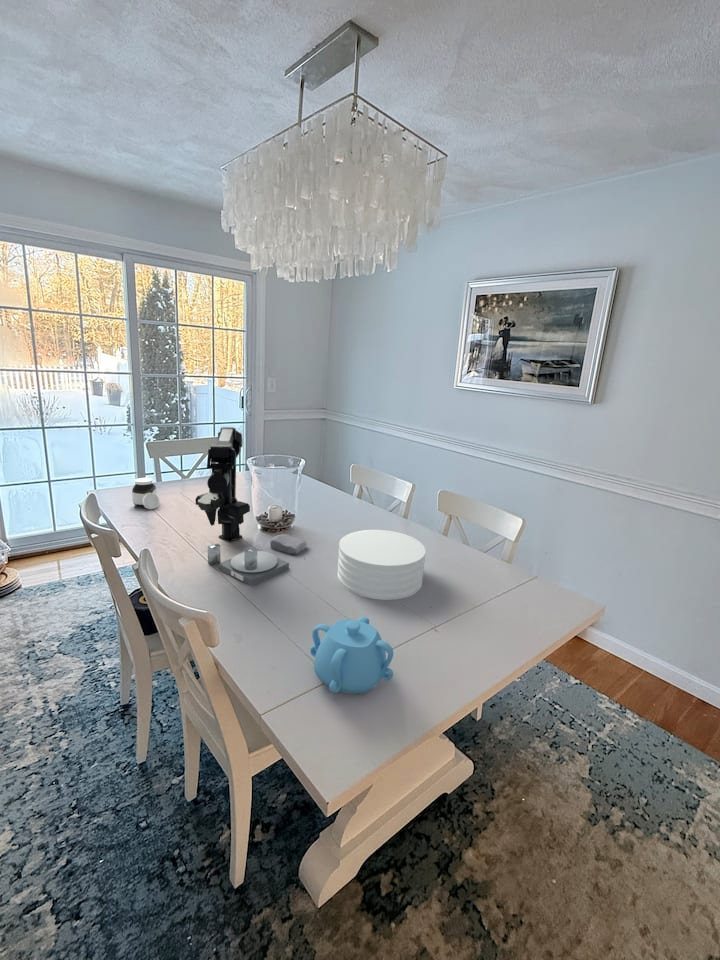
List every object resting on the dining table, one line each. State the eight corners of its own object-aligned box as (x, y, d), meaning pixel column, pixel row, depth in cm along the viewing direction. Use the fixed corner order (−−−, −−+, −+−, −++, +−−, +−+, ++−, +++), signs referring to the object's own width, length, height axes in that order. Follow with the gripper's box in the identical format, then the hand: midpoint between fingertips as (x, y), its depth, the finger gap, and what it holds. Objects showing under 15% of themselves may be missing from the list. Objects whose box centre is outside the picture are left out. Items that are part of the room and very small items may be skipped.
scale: (217, 569, 146) (216, 561, 145) (256, 554, 159) (256, 546, 158) (250, 586, 137) (250, 577, 136) (288, 568, 150) (289, 560, 150)
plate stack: (377, 552, 168) (380, 523, 165) (439, 581, 149) (443, 549, 146) (319, 574, 148) (321, 542, 145) (381, 610, 130) (385, 574, 126)
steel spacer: (205, 562, 151) (205, 546, 149) (215, 558, 154) (215, 542, 152) (213, 566, 148) (212, 549, 147) (223, 562, 151) (222, 546, 150)
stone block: (283, 544, 174) (267, 548, 165) (285, 532, 173) (269, 535, 164) (309, 553, 169) (293, 557, 160) (311, 540, 168) (296, 544, 159)
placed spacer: (241, 567, 142) (241, 550, 141) (251, 563, 146) (251, 546, 144) (250, 571, 140) (250, 554, 139) (259, 567, 143) (260, 550, 142)
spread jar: (144, 500, 205) (142, 476, 202) (167, 503, 204) (165, 478, 201) (127, 508, 194) (125, 483, 190) (151, 511, 192) (150, 485, 189)
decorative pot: (321, 709, 92) (324, 652, 88) (307, 659, 107) (309, 608, 103) (395, 696, 97) (401, 642, 93) (371, 650, 112) (376, 601, 108)
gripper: (181, 483, 141) (183, 529, 145) (225, 495, 133) (226, 543, 137) (207, 476, 151) (209, 519, 155) (251, 486, 143) (251, 532, 147)
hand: (222, 528), depth 148 cm, fingers open, 9 cm apart
